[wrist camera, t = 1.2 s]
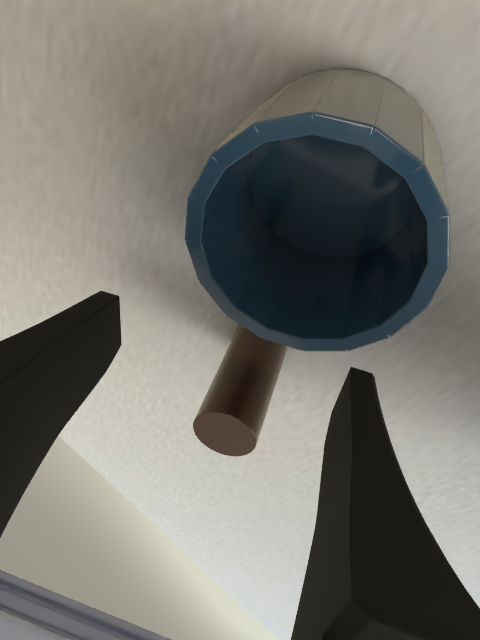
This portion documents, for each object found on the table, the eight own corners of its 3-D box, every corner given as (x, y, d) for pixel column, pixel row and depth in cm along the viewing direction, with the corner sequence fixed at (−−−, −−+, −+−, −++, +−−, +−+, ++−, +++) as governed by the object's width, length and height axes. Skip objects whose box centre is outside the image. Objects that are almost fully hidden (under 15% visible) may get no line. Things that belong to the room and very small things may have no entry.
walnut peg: (298, 349, 26) (269, 450, 20) (256, 363, 27) (218, 461, 22) (268, 309, 25) (229, 405, 19) (226, 327, 26) (180, 420, 21)
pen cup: (473, 212, 19) (494, 304, 14) (302, 287, 23) (273, 376, 18) (379, 15, 16) (364, 43, 11) (204, 145, 20) (137, 206, 15)
